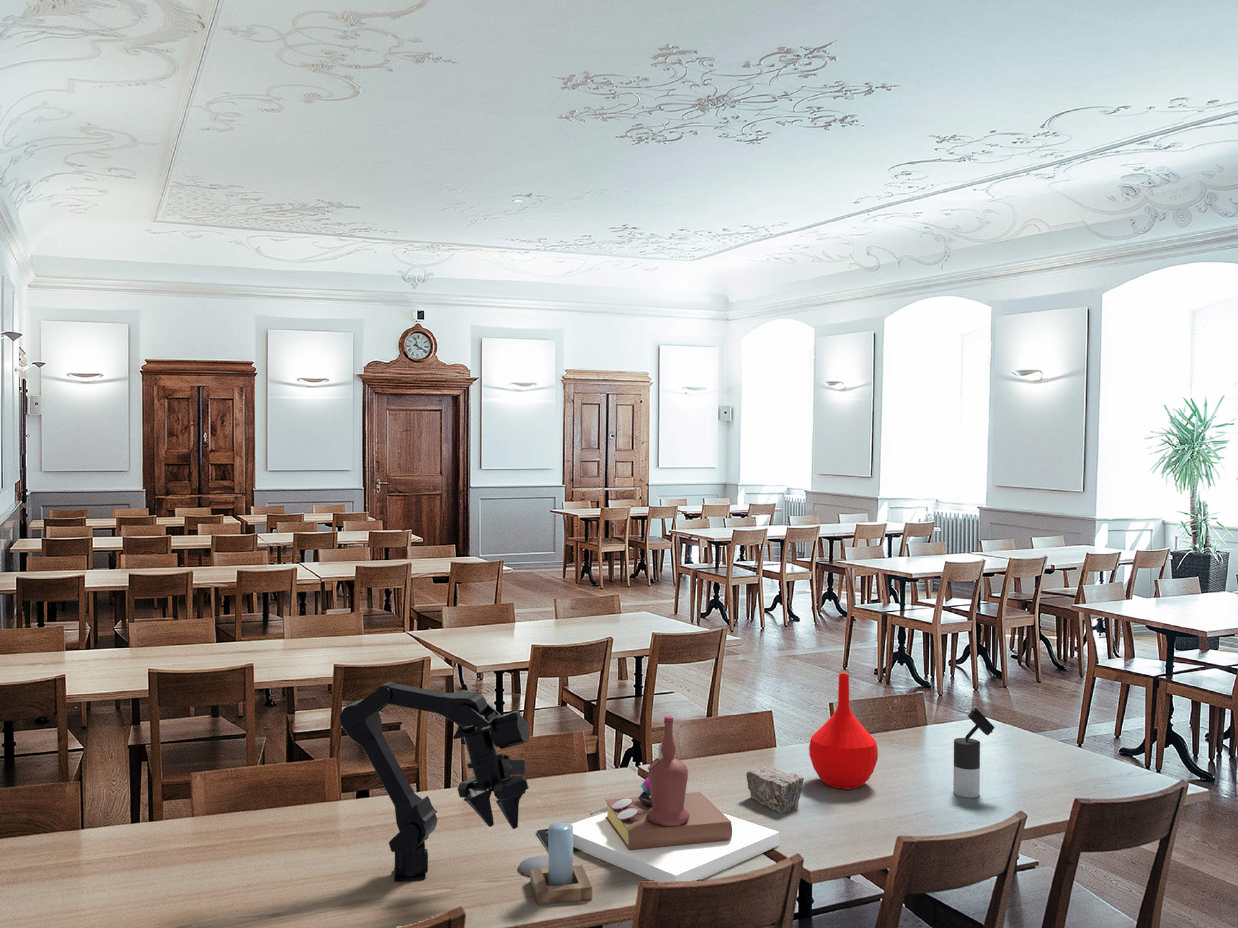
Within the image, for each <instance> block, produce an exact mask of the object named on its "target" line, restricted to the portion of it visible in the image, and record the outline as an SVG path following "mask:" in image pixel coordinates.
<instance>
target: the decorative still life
mask: <svg viewBox="0 0 1238 928" xmlns="http://www.w3.org/2000/svg"><path fill="white" fill-rule="evenodd" d="M663 723H664V732H663V733H664V736H663V739H662V741H661V742H660V744H659V746H658V754H657V755H658V757H656V758H655V759H654V760H653V761H651V763H650V764H649V765H648V767H647V770H648V772H647V774H648V777H647V778H645V779H644V780H643V781H642V783H641V784H640V787H641V789H642V791H641V794H640V795H639V796H637V797H636V796H635V797H623V798H612V799H605V802H606V807H604V808H600V809H595V810H593V811H590V812H589V815H590V816H591V817H587V818H585V819H581V820H579V821H576V822H573V823H570V824H571V825H572V826H573V847H575V848H577V849H579V850H582V852H583V853H584V854H587V855H591V856H593V857H595V858H597V859H599V860H603V861H604V862H606V863H609V864H612V865H614V866H616V867H618V868H621V869H624V870H626V871H628V872H631V873H633V874H635V875H638V876H640V877H642V878H644V879H647V880H650V881H652V880H656V881H692V880H697V879H701V880H703V879H705V878H707V877H711V876H712V875H715V874H717V873H720V872H722V871H724V870H726V869H729V868H731V867H733V866H735V865H737V864H738V865H739V864H741V863H744V861H747V860H749V859H751V858H754V857H757V856H758V855H761V854H764V853H765V852H768V851H769V850H770V851H771V850H773V849H774V848H778V847H779V846H780V831H778V830H774V829H770V828H768V827H765V826H762V825H759V824H756V823H754V822H749V821H747V820H744V819H740V818H738V817H736V816H732V815H730V814H729V815H728V814H726V813H723V812H722V811H721V810H720V809H719V808H718V807H716V806H715V804H714V803H713V802H711V800H709V799H708V798H707V797H706V796H705V795H704V794H703V793H702V792H701V791H695V792H687V791H686V790H687V786H688V779H689V778H688V777H689V769H688V766H687V764H685V763H684V762H683V761H681V760H680V759H677V758H675V754H676V751H677V746H676V743H675V739H674V734H673V733H674V731H673V729H674V728H673V726H674V725H673V724H674V717H673V716H672V715H671V716H670V715H665V716H664V717H663ZM601 812H603V813H601ZM598 813H600V814H598ZM595 814H598V815H595ZM592 815H593V816H592ZM772 848H773V849H772Z"/></svg>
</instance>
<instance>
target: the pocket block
mask: <svg viewBox="0 0 1238 928" xmlns="http://www.w3.org/2000/svg"><path fill="white" fill-rule="evenodd" d="M529 882H530V885H531V887H532V892H533V895H534V899H535V901H536V904H537V905H546V904H547V905H549V904H559V903H567V902H569V903H570V902H580V901H591V900H593V886H592V883H591V881H590V880H589V877H588V875H587V873H586V870H585V869H584V866H583V865H573V884H567V885H555V886H548V868H545V869H532V870H530V876H529Z"/></svg>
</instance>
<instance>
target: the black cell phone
mask: <svg viewBox="0 0 1238 928" xmlns="http://www.w3.org/2000/svg"><path fill="white" fill-rule="evenodd" d="M536 835H537V837H538V838H539V840H540V842H541V843H542V844H543V846H544V847H545V850H547V851H548V843H549V828H545V829H544V828H542V829H538V830H536ZM582 852H583V851H582V850H579V849H577V848H575V847H573V854H579V853H582Z"/></svg>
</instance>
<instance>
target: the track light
mask: <svg viewBox="0 0 1238 928" xmlns="http://www.w3.org/2000/svg"><path fill="white" fill-rule="evenodd" d="M967 717H968V718H969V720H971V722H972V723H973V724H974V726H973V728H972V729H970V731H969V732H968V733H967V734H966V735H965V736H964V737H957V738H956V737H955V738H954V739H953V794H955V796H958V797H963V798H977V797H980V792H981V791H980V790H981V789H980V787H981V786H980V782H981V781H980V780H981V775H980V774H981V767H980V766H981V742H980V741H979V740H978V739H975V738H972V736H973V734H975V733H976V732H977V730H978V729H979V730H980V731H981V732H982V733H983V734H984V735H986V736H990V734H991V733H993V731H994V729H995V728H996V727H995V726H994V725H993V724H992V723H991V722H990V720H989V719H988V718H986V716H985V715H984V714H982V712H981V711H980V710H979V709H978V708H977V707H974V708H973V709H972V710H971V711H970V712H969V714H968V715H967Z"/></svg>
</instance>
